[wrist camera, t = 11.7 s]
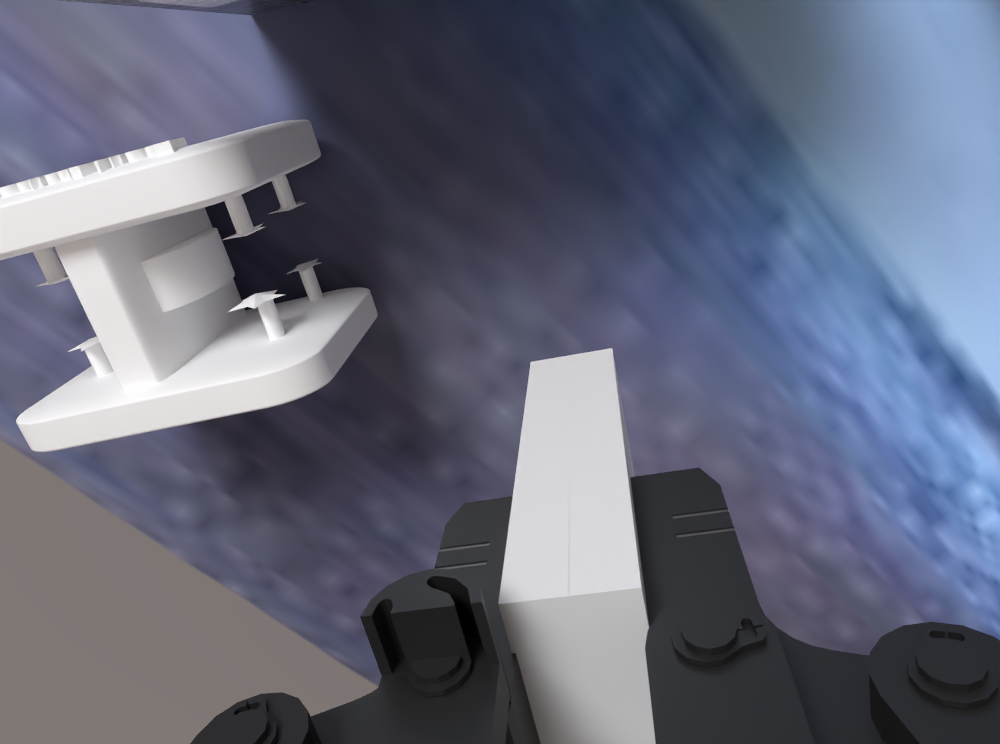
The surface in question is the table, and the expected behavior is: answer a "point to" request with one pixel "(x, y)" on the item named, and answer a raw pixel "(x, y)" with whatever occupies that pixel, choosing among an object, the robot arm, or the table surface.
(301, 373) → the cable organizer
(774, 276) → the table surface
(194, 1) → the box
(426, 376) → the table surface
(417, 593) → the robot arm
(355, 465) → the table surface
